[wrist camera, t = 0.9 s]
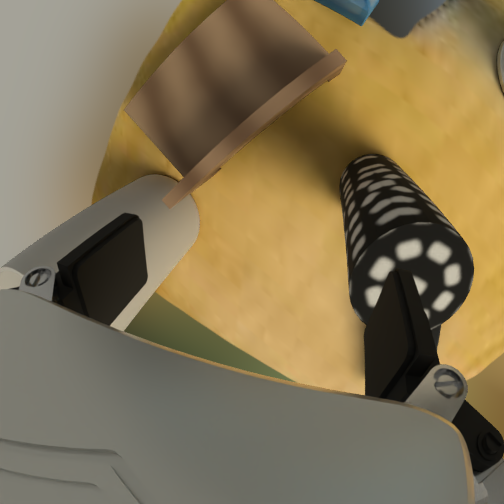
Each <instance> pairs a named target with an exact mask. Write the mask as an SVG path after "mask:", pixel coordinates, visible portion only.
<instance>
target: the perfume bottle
mask: <svg viewBox="0 0 504 504" xmlns="http://www.w3.org/2000/svg"><path fill="white" fill-rule="evenodd" d="M314 1H316V2H318V3H320V4H322V5H324V6H326V7H328V8H330V9H332V10H334V11H336V12H337V13H339V14H341V15H343V16H345V17H346V18H348V19H350V20H352V21H353V22H355V23H357V24H358V25H360V26H362V25H363V24H364V22H365V21H366V19H367V18H368V16H369V15H370V14H371V12H372V11H373V9H374V8H375V6H376V5H377V4H378V2H379V1H380V0H314Z"/></svg>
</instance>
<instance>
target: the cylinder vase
mask: <svg viewBox="0 0 504 504" xmlns="http://www.w3.org/2000/svg"><path fill="white" fill-rule="evenodd" d="M177 184H178V182H177V181H175V180H174V179H172V178H169V177H167V176H163V175H156V174H153V175H146V176H143V177H141V178H139V179H137V180H135V181H133V182H131V183H130V184H128V185H126V186H124V187H122V188H120V189H119V190H117V191H115V192H113V193H112V194H110V195H108V196H106V197H105V198H103V199H101V200H100V201H98V202H96V203H95V204H93V205H91V206H90V207H88V208H86V209H85V210H83V211H81V212H80V213H78V214H77V215H75V216H73V217H72V218H70V219H69V220H67V221H66V222H64V223H63V224H61V225H60V226H58V227H56V228H55V229H53V230H52V231H51V232H49V233H48V234H46V235H45V236H43V237H42V238H40V239H39V240H37V241H36V242H35V243H33V244H32V245H30V246H29V247H28V248H26V249H25V250H23V251H22V252H21V253H19V254H18V255H17V256H15V258H13V259H11V260H10V261H9V262H8V263H7V264H5V265H4V266H2V267H1V268H0V289H11V288H15V287H19V286H20V283H21V280H22V278H23V276H24V275H25V274H26V273H27V272H28V271H29V270H31V269H33V268H35V267H39V266H50V267H52V268H53V269H54V270H55V272H56V273H57V272H58V271H59V269H58V266H57V262H58V261H59V260H61V259H62V258H63V257H64V256H66V255H67V254H68V253H69V252H71V251H72V250H73V249H75V248H76V247H77V246H78V245H80V244H81V243H82V242H84V241H85V240H86V239H88V238H89V237H90V236H92V235H93V234H95V233H96V232H97V231H99V230H100V229H101V228H103V227H104V226H106V225H107V224H108V223H110V222H111V221H113V220H114V219H115V218H117V217H118V216H120V215H121V214H123V213H131V214H136V215H138V216H139V218H140V219H141V220H142V223H143V233H144V244H145V254H146V263H147V272H148V279H147V282H146V284H145V285H144V286H143V288H142V289H141V290H140V291H139V292H138V293H137V294H136V296H135V297H134V298H133V299H132V300H131V301H130V303H129V304H128V305H127V306H126V307H125V308H124V310H123V311H122V312H121V313H120V314H119V316H118V317H117V318H116V319H115V320H114V322H113V323H112V324H111V325H110V326H111V327H113V328H116V329H118V330H121V331H124V330H125V328H126V327H127V326H128V324H129V323H130V322H131V321H132V319H133V318H134V317H135V316H136V314H137V313H138V312H139V310H140V309H141V308H142V307H143V305H144V304H145V303H146V301H147V300H148V299H149V298H150V297H151V295H152V294H153V293H154V292H155V290H156V289H157V288H158V287H159V285H160V284H161V283H162V282H163V280H164V279H165V278H166V277H167V276H168V274H169V273H170V272H171V271H172V269H173V268H174V267H175V266H176V265H177V263H178V262H179V261H180V260H181V259H182V257H183V256H184V255H185V254H186V253H187V251H188V250H189V249H190V248H191V247H192V245H193V244H194V243H195V241H196V239H197V236H198V233H199V228H200V218H199V212H198V209H197V206H196V203H195V201H194V199H193V198H192V196H191V195H190V194H189V195H188V196H186V197H185V198H184V199H182V200H181V201H180V202H179V203H177V204H176V205H175V206H174V207H172V208H171V209H169V208H168V207H167V205H166V204H165V203H164V202H163V201H162V199H163V198H164V197H165V196H166V195H167V194H168V193H169V192H170V191H171V190H172V189H173V188H174V187H175V186H176V185H177Z"/></svg>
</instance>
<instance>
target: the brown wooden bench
mask: <svg viewBox="0 0 504 504" xmlns="http://www.w3.org/2000/svg"><path fill="white" fill-rule="evenodd" d="M346 61H347V60H346V59H345V58H344V57H343V56H342V55H341V54H340V53H339V52H338V50H337V49H335V50H334V51H332V52H331V53H330V54H329V53H328V52H327V51H326V50H325V49H324V48H323V47H322V46H321V45H320V44H319V43H318V42H317V41H316V40H315V39H314V38H313V37H312V36H311V35H310V34H309V33H308V32H307V31H306V30H305V29H304V28H303V27H302V26H301V25H300V24H299V23H298V22H297V21H296V20H295V19H294V18H293V17H292V16H291V15H289V14H288V13H287V12H286V11H285V10H284V9H283V8H282V7H281V6H279V5H278V4H277V3H276V2H275V1H274V0H227V1H226V2H224V3H223V4H222V5H221V6H220V7H219V8H217V9H216V10H215V11H214V12H213V13H212V14H211V15H210V16H208V17H207V18H206V19H205V20H204V21H203V22H202V23H201V24H200V25H199V26H198V27H197V28H196V29H195V30H193V31H192V32H191V33H190V34H189V35H188V36H187V37H186V38H185V39H184V40H183V41H182V42H181V43H180V45H179V46H178V47H177V48H176V49H175V50H174V51H173V52H172V53H171V54H170V55H169V56H168V57H167V58H166V59H165V61H164V62H163V63H162V64H161V65H160V66H159V67H158V68H157V70H156V71H155V72H154V73H153V74H152V75H151V77H150V78H149V79H148V80H147V81H146V82H145V84H144V85H143V86H142V87H141V89H140V90H139V91H138V92H137V94H136V95H135V96H134V97H133V99H132V100H131V101H130V103H129V104H128V105H127V106H126V108H125V109H124V111H125V112H126V113H127V114H128V115H129V116H130V117H131V118H132V120H133V121H134V122H135V123H136V124H137V125H138V126H139V127H140V129H141V130H142V131H143V132H144V133H145V134H146V135H147V136H148V137H149V139H150V140H151V141H152V142H153V143H154V144H155V145H156V146H157V148H158V149H159V150H160V151H161V152H162V153H163V154H164V155H165V157H166V158H167V159H168V160H169V161H170V162H171V163H172V164H173V165H174V167H175V168H176V169H177V170H178V171H179V172H180V173H181V174H182V176H183V177H184V178H183V179H182V180H181V181H180V182H179V183H178V184H177V185H176V186H175V187H174V188H173V189H172V190H171V191H170V192H169V193H168V194H167V195H166V196H165V197H164V198H163V199H162V201H163V202H164V203H165V204H166V205H167V207H168V208H169V209H171V208H172V207H174V206H175V205H176V204H177V203H179V202H180V201H181V200H182V199H184V198H185V197H186V196H188V195H189V194H190V193H191V192H193V191H194V190H195V189H197V188H198V187H199V186H201V185H202V184H203V183H205V182H206V181H207V180H209V179H210V178H211V177H213V176H214V175H215V174H216V173H217V172H218V171H219V170H220V169H221V168H220V167H221V166H222V165H223V164H225V163H226V162H227V161H228V160H229V159H230V158H231V157H232V156H234V155H235V154H236V153H237V152H238V151H239V150H240V149H242V148H243V147H244V146H245V145H246V144H247V143H249V142H250V141H251V140H252V139H253V138H255V137H256V136H257V135H258V134H259V133H261V132H262V131H263V130H264V129H265V128H267V127H268V126H269V125H270V124H272V123H273V122H274V121H275V120H276V119H278V118H279V117H280V116H281V115H283V114H284V113H285V112H286V111H288V110H289V109H290V108H292V107H293V106H294V105H295V104H297V103H298V102H299V101H301V100H302V99H303V98H304V97H306V96H307V95H308V94H310V93H311V92H312V91H314V90H315V89H316V88H318V87H319V86H320V85H322V84H323V83H325V82H326V81H328V82H329V81H331V80H332V79H333V78H335V77H336V76H338V75H339V74H340V72H341V71H342V69H343V67H344V65H345V63H346Z"/></svg>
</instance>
